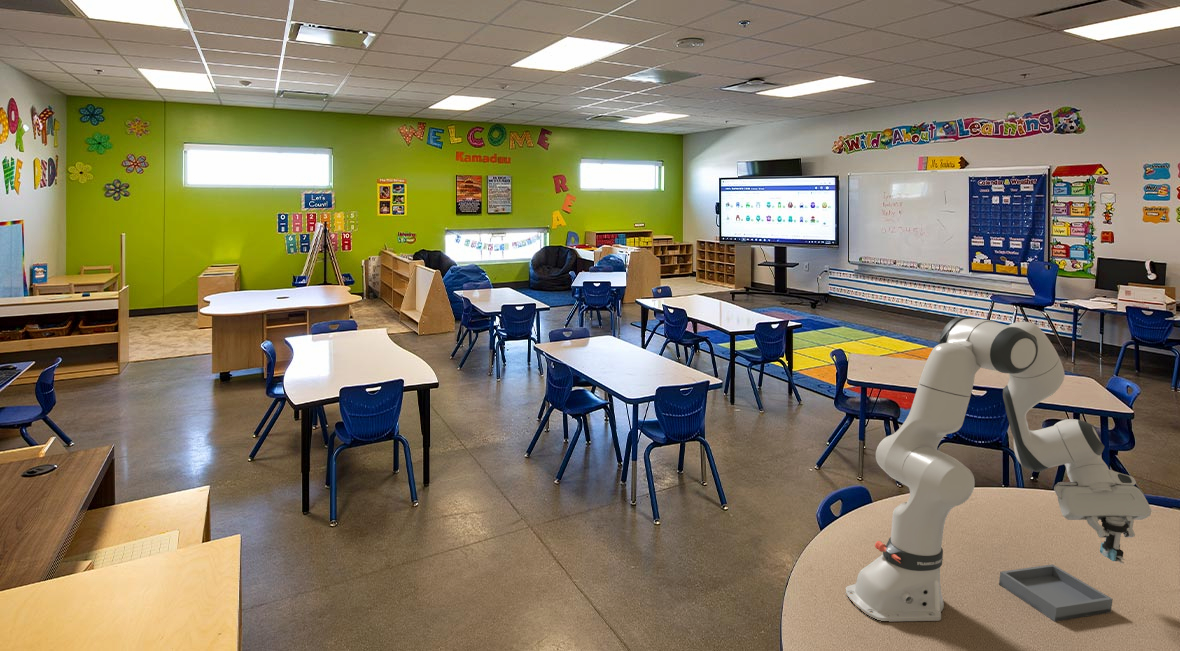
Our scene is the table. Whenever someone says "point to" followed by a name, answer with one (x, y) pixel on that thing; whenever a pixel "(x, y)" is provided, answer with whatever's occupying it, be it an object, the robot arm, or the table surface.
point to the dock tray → (1055, 592)
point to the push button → (1113, 537)
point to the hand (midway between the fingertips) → (1117, 536)
